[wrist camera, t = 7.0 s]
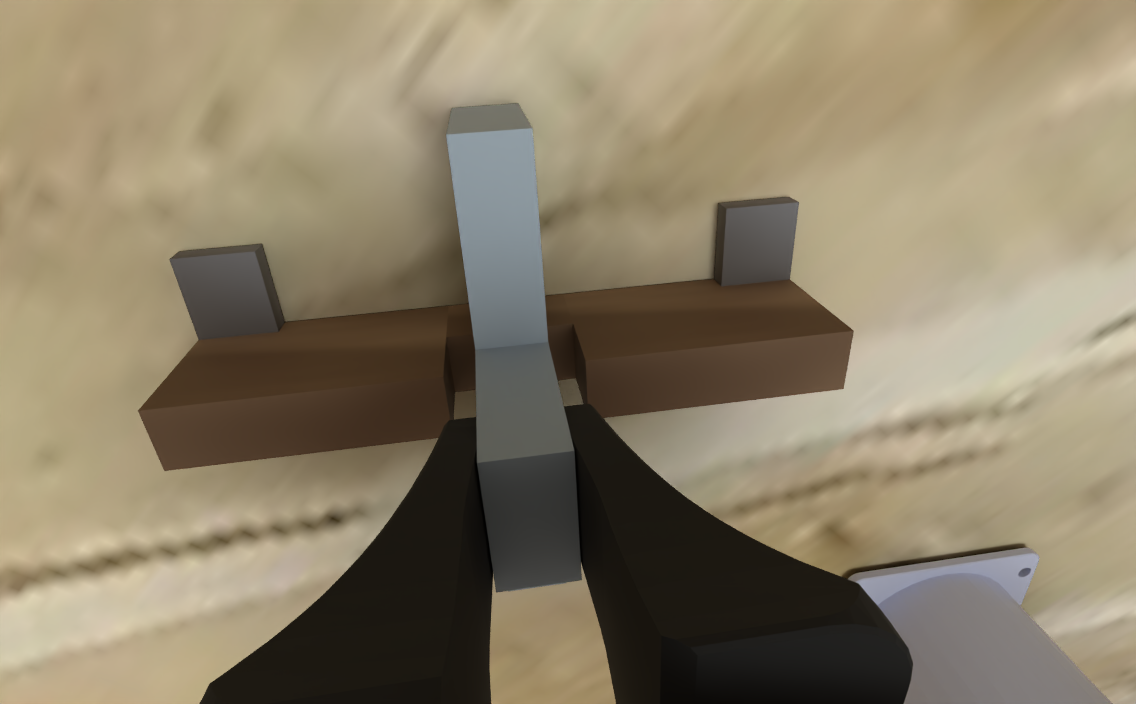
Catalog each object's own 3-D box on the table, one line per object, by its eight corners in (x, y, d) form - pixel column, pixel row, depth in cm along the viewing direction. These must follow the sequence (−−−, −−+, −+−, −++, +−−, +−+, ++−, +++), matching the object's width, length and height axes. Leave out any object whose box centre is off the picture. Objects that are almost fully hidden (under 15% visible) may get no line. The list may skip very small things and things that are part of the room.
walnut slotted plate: (768, 383, 20) (830, 460, 17) (248, 445, 19) (196, 544, 15) (789, 196, 17) (869, 240, 14) (179, 251, 16) (96, 316, 12)
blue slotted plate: (550, 488, 21) (590, 724, 14) (501, 494, 21) (517, 737, 14) (518, 103, 15) (558, 174, 8) (451, 108, 15) (436, 184, 8)
